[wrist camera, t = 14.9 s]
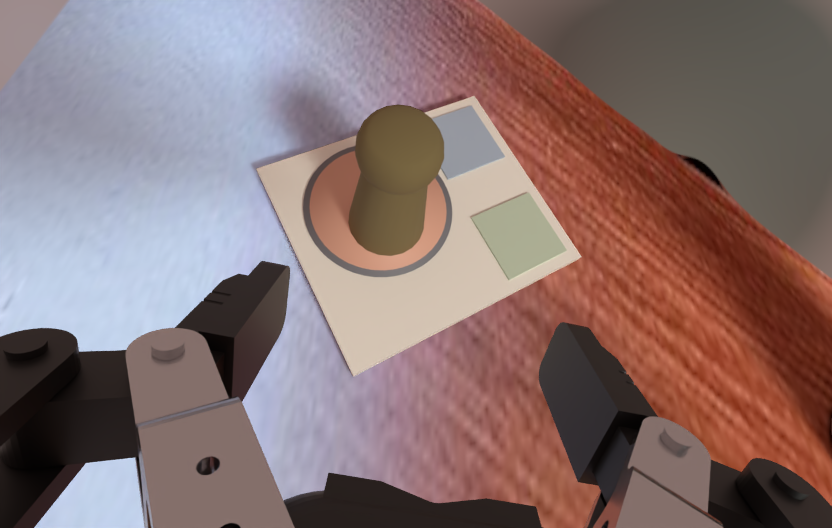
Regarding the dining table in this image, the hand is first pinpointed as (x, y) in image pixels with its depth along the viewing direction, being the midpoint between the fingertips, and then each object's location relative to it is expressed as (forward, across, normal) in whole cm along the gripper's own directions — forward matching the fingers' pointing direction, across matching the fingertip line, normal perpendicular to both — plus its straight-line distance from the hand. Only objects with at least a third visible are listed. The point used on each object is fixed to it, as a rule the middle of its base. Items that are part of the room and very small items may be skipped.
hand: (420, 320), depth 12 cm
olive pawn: (+21, +2, +4) cm, 21 cm away
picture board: (+22, -1, +4) cm, 23 cm away
